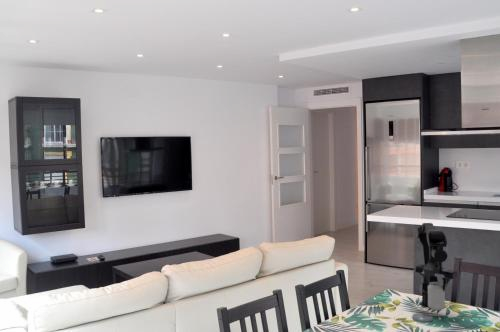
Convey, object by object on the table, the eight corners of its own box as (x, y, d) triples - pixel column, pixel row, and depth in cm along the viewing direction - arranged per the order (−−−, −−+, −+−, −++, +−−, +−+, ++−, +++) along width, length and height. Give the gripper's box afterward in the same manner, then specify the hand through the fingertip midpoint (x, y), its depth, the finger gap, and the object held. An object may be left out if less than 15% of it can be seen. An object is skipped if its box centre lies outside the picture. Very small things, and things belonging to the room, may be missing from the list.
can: (441, 305, 234) (441, 281, 234) (446, 310, 227) (446, 285, 226) (426, 305, 235) (425, 281, 234) (430, 310, 227) (430, 285, 227)
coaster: (408, 319, 228) (408, 316, 228) (418, 314, 234) (418, 311, 234) (426, 324, 221) (426, 321, 221) (436, 318, 227) (436, 316, 227)
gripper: (409, 256, 231) (409, 289, 232) (447, 263, 217) (447, 297, 218) (420, 252, 239) (421, 284, 239) (458, 258, 225) (458, 291, 225)
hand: (436, 289), depth 230 cm, fingers closed on can, 7 cm apart
